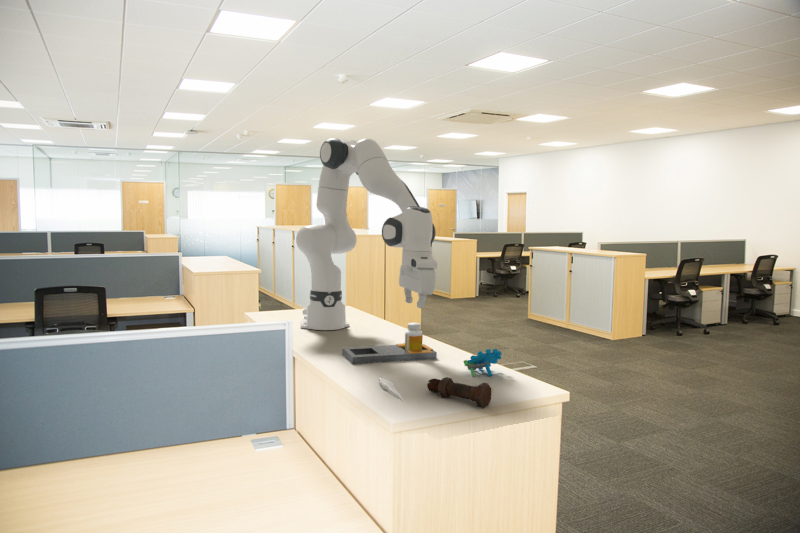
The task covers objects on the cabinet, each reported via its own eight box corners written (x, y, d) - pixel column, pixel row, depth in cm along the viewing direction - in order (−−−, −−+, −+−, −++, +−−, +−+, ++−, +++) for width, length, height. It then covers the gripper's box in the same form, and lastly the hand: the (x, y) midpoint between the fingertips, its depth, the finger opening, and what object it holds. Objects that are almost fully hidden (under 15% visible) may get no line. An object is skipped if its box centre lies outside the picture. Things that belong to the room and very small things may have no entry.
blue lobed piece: (495, 362, 147) (504, 343, 140) (502, 381, 144) (512, 363, 136) (458, 369, 145) (466, 350, 137) (465, 388, 141) (473, 370, 134)
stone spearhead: (374, 383, 130) (375, 376, 130) (384, 382, 131) (384, 375, 131) (398, 405, 116) (398, 397, 116) (409, 404, 118) (409, 396, 117)
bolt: (431, 399, 125) (488, 412, 116) (421, 393, 121) (478, 406, 112) (438, 376, 127) (494, 386, 118) (428, 369, 123) (485, 380, 114)
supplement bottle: (425, 355, 160) (426, 324, 159) (413, 358, 156) (414, 326, 155) (412, 351, 164) (413, 321, 163) (400, 354, 160) (401, 323, 159)
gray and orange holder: (342, 354, 158) (342, 346, 158) (420, 349, 167) (421, 342, 167) (352, 364, 147) (352, 356, 147) (436, 358, 156) (436, 351, 156)
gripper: (395, 257, 166) (393, 300, 167) (419, 263, 147) (417, 311, 148) (413, 257, 168) (411, 299, 169) (439, 263, 149) (437, 310, 150)
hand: (414, 305), depth 159 cm, fingers open, 8 cm apart
